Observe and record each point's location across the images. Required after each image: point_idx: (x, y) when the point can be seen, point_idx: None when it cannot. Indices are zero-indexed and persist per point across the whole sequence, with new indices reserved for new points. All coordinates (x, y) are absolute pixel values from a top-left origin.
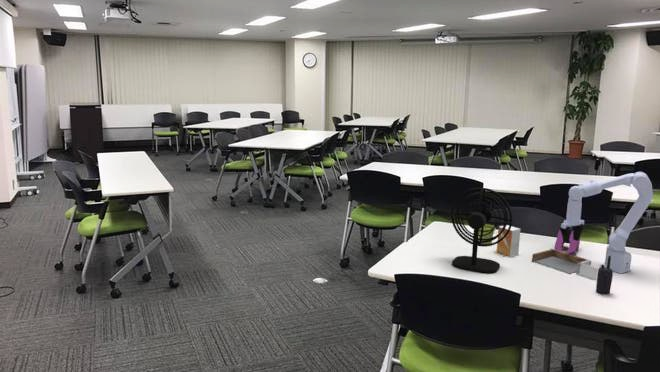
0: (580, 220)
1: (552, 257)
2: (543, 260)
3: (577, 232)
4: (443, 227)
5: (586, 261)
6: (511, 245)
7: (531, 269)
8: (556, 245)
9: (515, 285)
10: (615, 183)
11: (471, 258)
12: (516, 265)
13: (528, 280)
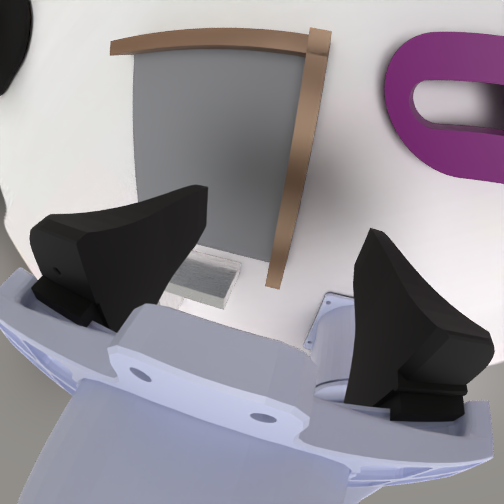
0: (429, 476)
1: (283, 67)
2: (182, 67)
3: (370, 321)
4: None
5: (194, 296)
6: None
7: (70, 115)
8: (439, 43)
9: (5, 173)
10: None
11: (2, 8)
12: (62, 59)
13: (28, 172)
